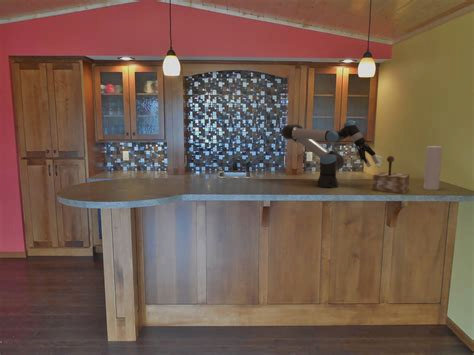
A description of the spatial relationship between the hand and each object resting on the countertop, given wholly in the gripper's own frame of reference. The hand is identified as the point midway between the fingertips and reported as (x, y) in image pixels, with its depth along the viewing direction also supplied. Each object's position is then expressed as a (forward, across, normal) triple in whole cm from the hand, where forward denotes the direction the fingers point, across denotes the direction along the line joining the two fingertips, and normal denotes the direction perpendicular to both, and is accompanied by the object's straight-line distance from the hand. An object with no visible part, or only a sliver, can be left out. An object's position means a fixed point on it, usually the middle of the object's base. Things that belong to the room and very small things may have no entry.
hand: (373, 164), depth 248 cm
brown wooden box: (+21, -4, -3) cm, 21 cm away
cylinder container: (+33, +20, -18) cm, 42 cm away
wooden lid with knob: (+12, -3, -8) cm, 15 cm away
